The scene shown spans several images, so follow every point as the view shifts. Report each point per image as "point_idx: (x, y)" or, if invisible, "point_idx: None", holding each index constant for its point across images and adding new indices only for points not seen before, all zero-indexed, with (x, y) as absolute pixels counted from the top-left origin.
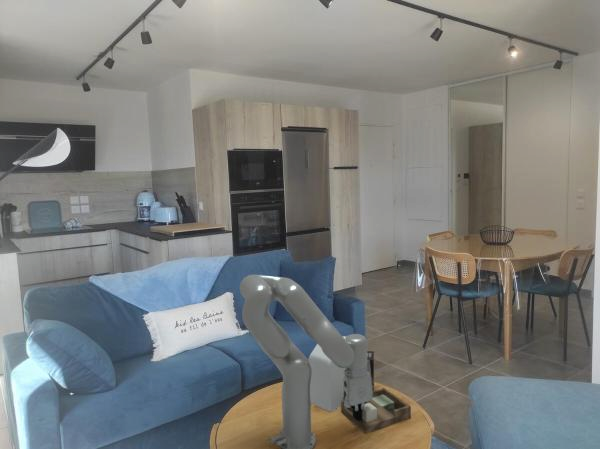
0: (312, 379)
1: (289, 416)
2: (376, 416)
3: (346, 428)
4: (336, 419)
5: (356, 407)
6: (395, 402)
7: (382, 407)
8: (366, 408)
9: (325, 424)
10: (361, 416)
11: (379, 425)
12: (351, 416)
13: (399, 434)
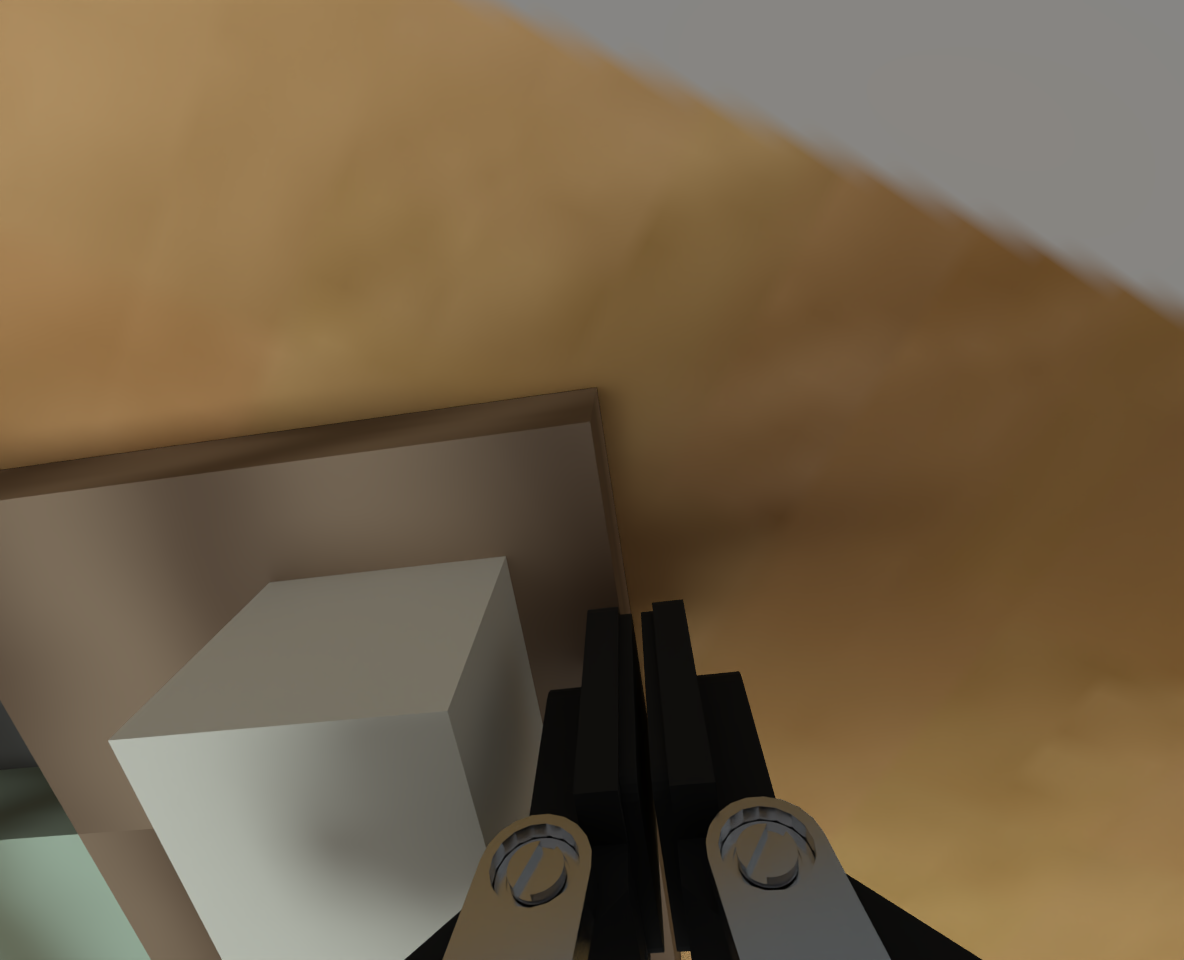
0: None
1: None
2: (251, 608)
3: (814, 626)
4: None
5: (808, 931)
6: None
7: (74, 811)
8: (385, 827)
9: (1032, 804)
10: (604, 658)
11: (292, 443)
12: None
13: (23, 143)
